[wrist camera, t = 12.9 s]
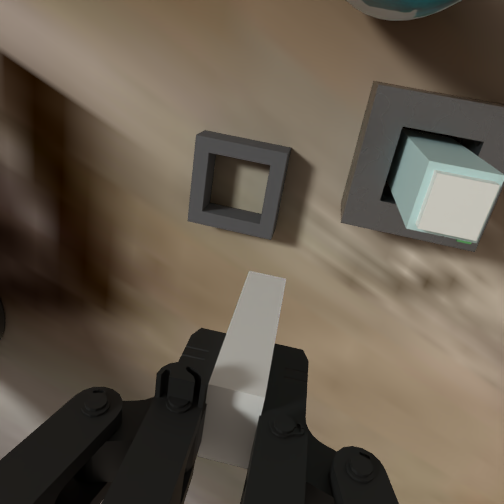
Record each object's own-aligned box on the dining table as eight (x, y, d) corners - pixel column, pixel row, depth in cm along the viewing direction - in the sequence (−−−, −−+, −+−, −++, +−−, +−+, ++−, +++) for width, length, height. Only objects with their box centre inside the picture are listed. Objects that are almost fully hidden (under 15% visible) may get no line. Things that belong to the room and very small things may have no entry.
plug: (385, 176, 35) (408, 233, 24) (400, 127, 34) (432, 163, 22) (434, 186, 35) (481, 249, 23) (451, 137, 33) (511, 179, 22)
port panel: (341, 202, 37) (340, 225, 32) (373, 81, 33) (379, 84, 28) (458, 227, 36) (477, 255, 31) (507, 105, 32) (539, 113, 27)
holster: (196, 211, 40) (187, 221, 38) (205, 130, 37) (196, 134, 34) (274, 229, 39) (270, 239, 37) (291, 147, 36) (287, 153, 34)
